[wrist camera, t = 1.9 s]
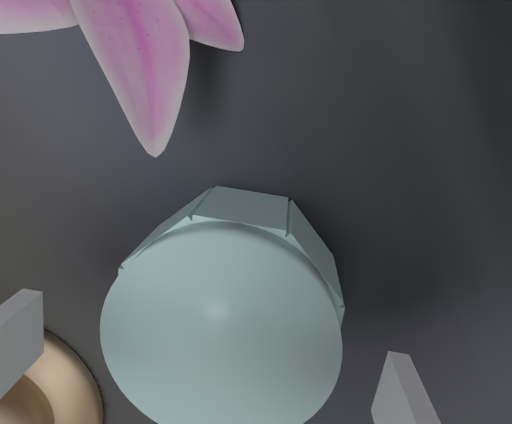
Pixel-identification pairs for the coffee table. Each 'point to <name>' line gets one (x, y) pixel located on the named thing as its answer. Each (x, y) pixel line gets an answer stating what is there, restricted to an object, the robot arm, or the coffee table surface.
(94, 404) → the stud pedestal
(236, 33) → the lily
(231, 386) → the cap
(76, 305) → the coffee table surface
